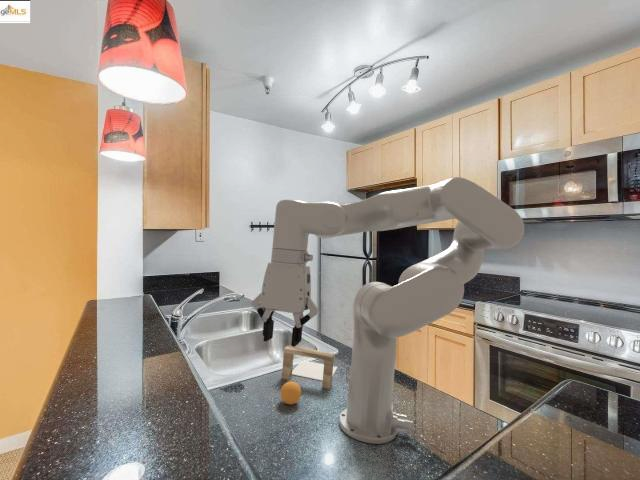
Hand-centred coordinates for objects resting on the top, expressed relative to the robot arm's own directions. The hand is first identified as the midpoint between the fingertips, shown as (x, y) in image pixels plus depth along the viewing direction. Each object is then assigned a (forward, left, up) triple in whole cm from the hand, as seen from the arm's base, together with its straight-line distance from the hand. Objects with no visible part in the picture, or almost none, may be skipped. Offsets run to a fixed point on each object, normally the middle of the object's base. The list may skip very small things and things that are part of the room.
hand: (281, 341), depth 66 cm
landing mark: (0, -31, -18) cm, 36 cm away
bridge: (0, -22, -18) cm, 29 cm away
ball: (0, -9, -15) cm, 18 cm away
